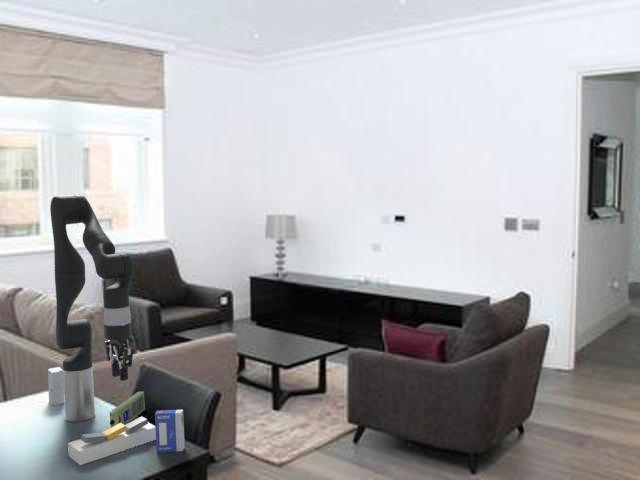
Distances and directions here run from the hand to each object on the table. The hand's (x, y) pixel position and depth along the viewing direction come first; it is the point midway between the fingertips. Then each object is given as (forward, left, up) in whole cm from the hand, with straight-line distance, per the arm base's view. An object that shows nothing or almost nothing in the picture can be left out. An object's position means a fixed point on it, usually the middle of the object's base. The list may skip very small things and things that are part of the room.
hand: (120, 377), depth 185 cm
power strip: (-1, -2, -21) cm, 21 cm away
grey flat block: (0, -9, -17) cm, 20 cm away
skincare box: (-52, +1, -22) cm, 57 cm away
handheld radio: (-17, +9, -22) cm, 29 cm away
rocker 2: (0, +5, -17) cm, 18 cm away
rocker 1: (0, -2, -17) cm, 17 cm away
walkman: (+12, +9, -22) cm, 26 cm away
